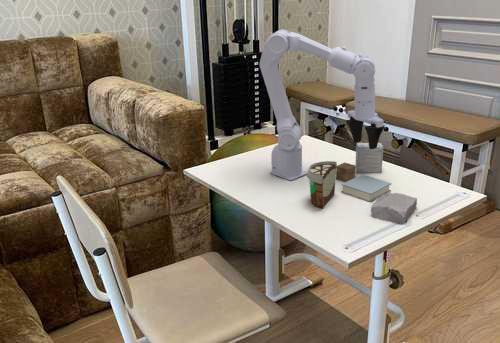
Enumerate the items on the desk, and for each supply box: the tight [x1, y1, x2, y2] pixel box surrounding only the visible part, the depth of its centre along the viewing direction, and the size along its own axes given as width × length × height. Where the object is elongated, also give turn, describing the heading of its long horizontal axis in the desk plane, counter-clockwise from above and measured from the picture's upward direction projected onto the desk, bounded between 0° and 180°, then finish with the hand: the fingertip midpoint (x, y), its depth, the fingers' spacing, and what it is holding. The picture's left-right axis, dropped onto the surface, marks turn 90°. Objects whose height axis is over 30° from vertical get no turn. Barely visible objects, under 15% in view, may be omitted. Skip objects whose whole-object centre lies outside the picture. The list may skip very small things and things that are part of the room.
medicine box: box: [354, 142, 384, 174], centre depth 156 cm, size 8×4×9 cm, turn 84°
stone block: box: [370, 192, 418, 225], centre depth 130 cm, size 12×5×10 cm
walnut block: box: [335, 162, 356, 183], centre depth 151 cm, size 4×4×4 cm
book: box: [341, 173, 392, 203], centre depth 142 cm, size 10×10×2 cm
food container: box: [306, 160, 338, 210], centre depth 137 cm, size 12×6×10 cm, turn 152°
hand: (365, 145), depth 148 cm, fingers open, 7 cm apart
